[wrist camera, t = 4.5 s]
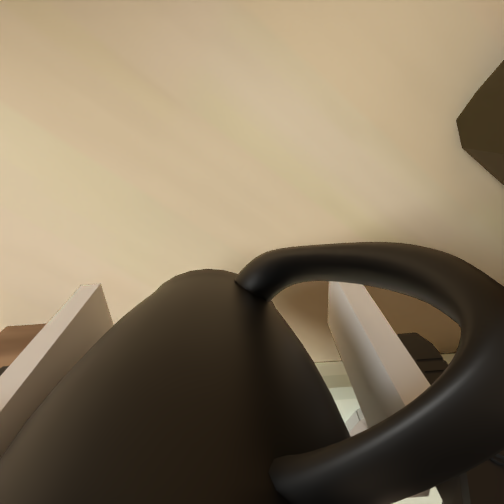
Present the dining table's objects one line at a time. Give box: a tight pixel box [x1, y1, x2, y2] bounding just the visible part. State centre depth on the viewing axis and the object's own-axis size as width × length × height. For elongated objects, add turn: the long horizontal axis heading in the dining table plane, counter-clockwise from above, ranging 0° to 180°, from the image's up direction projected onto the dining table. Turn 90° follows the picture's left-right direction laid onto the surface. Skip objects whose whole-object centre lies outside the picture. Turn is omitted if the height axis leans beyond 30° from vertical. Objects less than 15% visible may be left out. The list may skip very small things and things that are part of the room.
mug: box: [0, 242, 504, 504], centre depth 9 cm, size 8×12×10 cm
